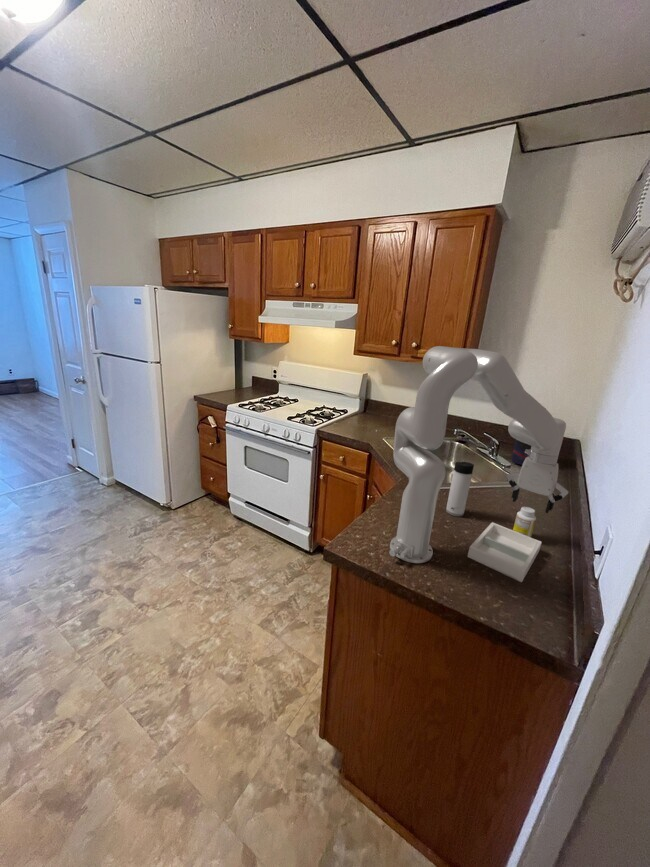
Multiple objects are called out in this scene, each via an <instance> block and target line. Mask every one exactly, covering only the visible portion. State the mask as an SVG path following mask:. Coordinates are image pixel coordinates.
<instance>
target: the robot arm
mask: <svg viewBox="0 0 650 867" xmlns="http://www.w3.org/2000/svg"><path fill="white" fill-rule="evenodd" d="M422 367H423V370H424V371H425V373H426V374H427V375H428V376H427V377H426V378H425V379H424V380H423V381H422V383H420V386H419V388H418V390H417V393H416V397H415V398H416V399H415V405H414V406H410V407H407V408H405V409H404V410H402V412H400V414H399V415H398V417H397V419H396V422H395V428H394V429H395V430H394V440H393V441H394V442H393V451H392V452H393V462H394V465H395V466H396V467H397V469H398V470H399V471H401V473H403V474H404V475H405V476H406V477H407V478H408V483H407V485H406V487H405V488H404V490H403V493H402V498H401V505H400V511H399V519H398V524H397V530H396V536H395V537H392V538H391V541H390V542H389V543H390V544H389V555H390V556H391V557H397V558H399V560H400V559H401V561H404V562H407V563H411V564H412V563H413V564H423V563H426V562H429V561H430V560H431V559H432V557H433V555H434V554H433V553H434V552H433V548H432V546H431V545H430V538H431V534H432V528H433V525H434V524H433V522H434V517H435V513H436V506H437V501H438V498H439V497H438V496H439V492H440V489H441V488H442V485H443V483H444V480H445V477H446V467H445V465H444V463H443V461H442V460H441V458H440V457H438V456H437V455H436V454H434V453H433V452H431V451H435V450H437V449H439V448H440V447H441V446H442V445H443V444H444V441H445V438H446V437H445V436H446V432H447V420H448V415H449V414H448V413H449V407H450V404H451V399H452V397H453V396H454V394H455V393H456V392H457V390H458V389H459V388H460V387H462V386H463V385H464V384H466V383H467V382H469V381H470V380H473V381H476V382H478V383H479V384H480V385H481V386H482V389H483V391H485V393H486V394H487V396H488V397H489V400H490V401H491V402H492V405H493V406H494V407H495V408H496V409H498V411H500V412H501V413H502V414H504V415H505V416H507V417H509V418H511V419H512V420H511V421H510V422H509V424H508V427H507V428H508V429H507V431H508V434H509V435H510V437H511V438H513V439H515V441H516V440H519V441H521V442H523V443H526V444H528V445H531V449H530V450H529V449H528V450H527V449H526V450H525V453H527V454H528V455H529V456H528V457H526V458H525V460H524V462H523V465H521V467H520V471H519V472H518V471H517V472H510V473H508V474H507V475H506V478H507V480H508V484H509V485H510V487H511V488H512V492H511V498H512V502H514V503H515V502H517V500H518V498H519V495H520V490H521V489H522V490H526V491H528V492H532V493H535V494H538V495H541V496H545V497H547V498H548V501H547V504H546V508H545V513H546V514H548V513H549V512H550V511H553V508H554V506H555V502H558V501H560V500H563V498H565V497H566V496H567V495H569V490H567V488H565V487H564V486H562V485H561V484H560V483H559V482H558V478H559V477H558V476H559V463H558V459H559V454H560V451H561V447H562V444H563V440H564V435H565V432H566V429H567V423H566V422H565V421H564V420H563V419H560V418H556V417H553V414H551V412H549V410H548V409H547V408H546V407H545V406H543V404H541V403H540V402H539V401H538V400H537V399H536V398H534V397H533V396H532V395H531V394H530V393H529V392H527V391H526V389H525V388H524V387H523V385H522V383H521V381H520V379H519V378H518V376H517V375H516V373H515V371H514V370H513V368H512V366H511V364H510V363H509V361H508V359H507V358H506V357H505V356H504V355H503V354H502V353H500V352H496V351H492V350H485V349H480V348H479V349H478V348H463V347H452V346H451V347H450V346H442V345H437V346H434V347H431V348H429V349H428V350H427V351H426V352H425V354H424V356H423V358H422ZM545 408H546V409H545ZM514 478H517V482H516V481H515V480H514ZM555 489H557V490H558V491H559V492H560V493H559V494H557V495H556V494H555V493H554V492H555Z"/></svg>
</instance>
